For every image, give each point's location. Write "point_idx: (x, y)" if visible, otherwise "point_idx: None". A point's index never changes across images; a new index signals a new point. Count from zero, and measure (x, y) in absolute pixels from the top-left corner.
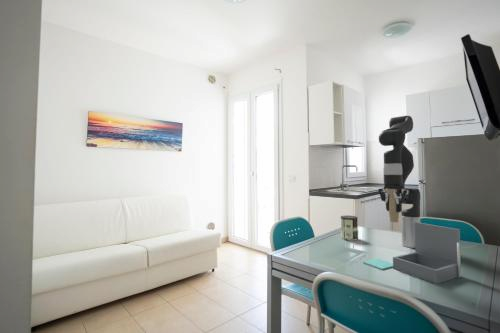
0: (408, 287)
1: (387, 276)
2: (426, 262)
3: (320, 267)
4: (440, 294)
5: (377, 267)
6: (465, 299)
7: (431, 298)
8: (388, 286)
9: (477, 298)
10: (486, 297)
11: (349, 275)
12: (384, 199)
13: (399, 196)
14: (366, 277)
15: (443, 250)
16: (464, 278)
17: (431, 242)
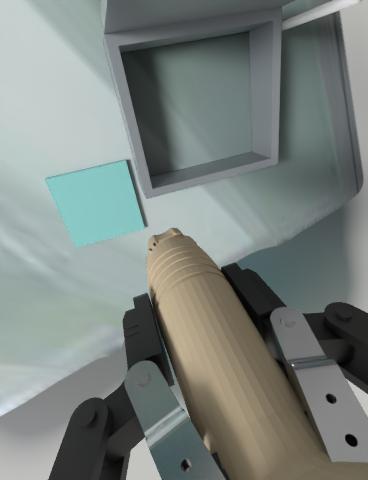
0: (243, 233)
1: None
2: (159, 44)
3: (93, 351)
4: (288, 196)
5: (129, 232)
6: (320, 167)
7: (288, 225)
8: None
9: (331, 137)
10: (340, 111)
11: None
12: (127, 442)
13: (327, 396)
14: None
15: (249, 2)
16: None
17: (205, 1)
